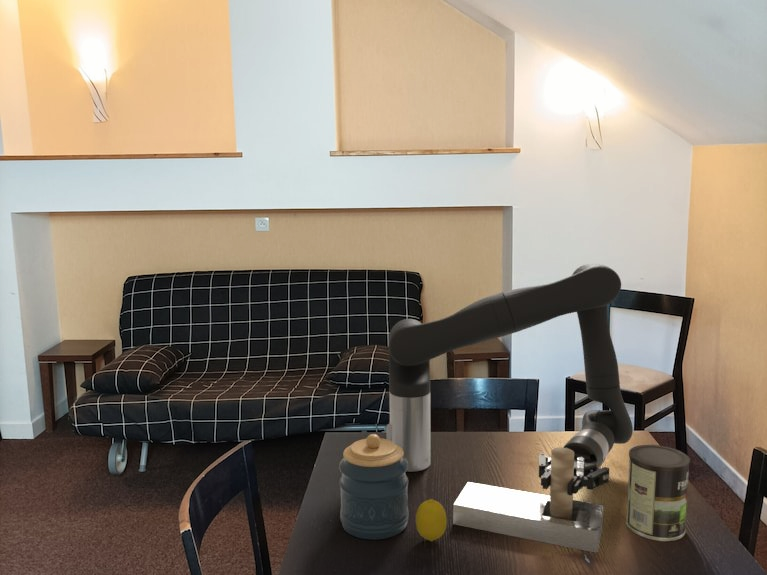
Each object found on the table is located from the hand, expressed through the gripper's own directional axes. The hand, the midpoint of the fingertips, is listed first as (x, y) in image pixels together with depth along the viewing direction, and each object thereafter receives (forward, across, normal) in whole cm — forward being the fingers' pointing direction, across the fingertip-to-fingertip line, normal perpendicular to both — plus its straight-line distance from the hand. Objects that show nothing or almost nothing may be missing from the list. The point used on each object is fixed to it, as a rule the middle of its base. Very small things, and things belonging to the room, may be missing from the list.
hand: (557, 486), depth 116 cm
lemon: (+13, -19, +10) cm, 25 cm away
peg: (-3, 0, +8) cm, 9 cm away
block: (-2, -6, +10) cm, 12 cm away
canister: (+13, -31, +10) cm, 35 cm away
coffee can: (-13, +14, +10) cm, 22 cm away
